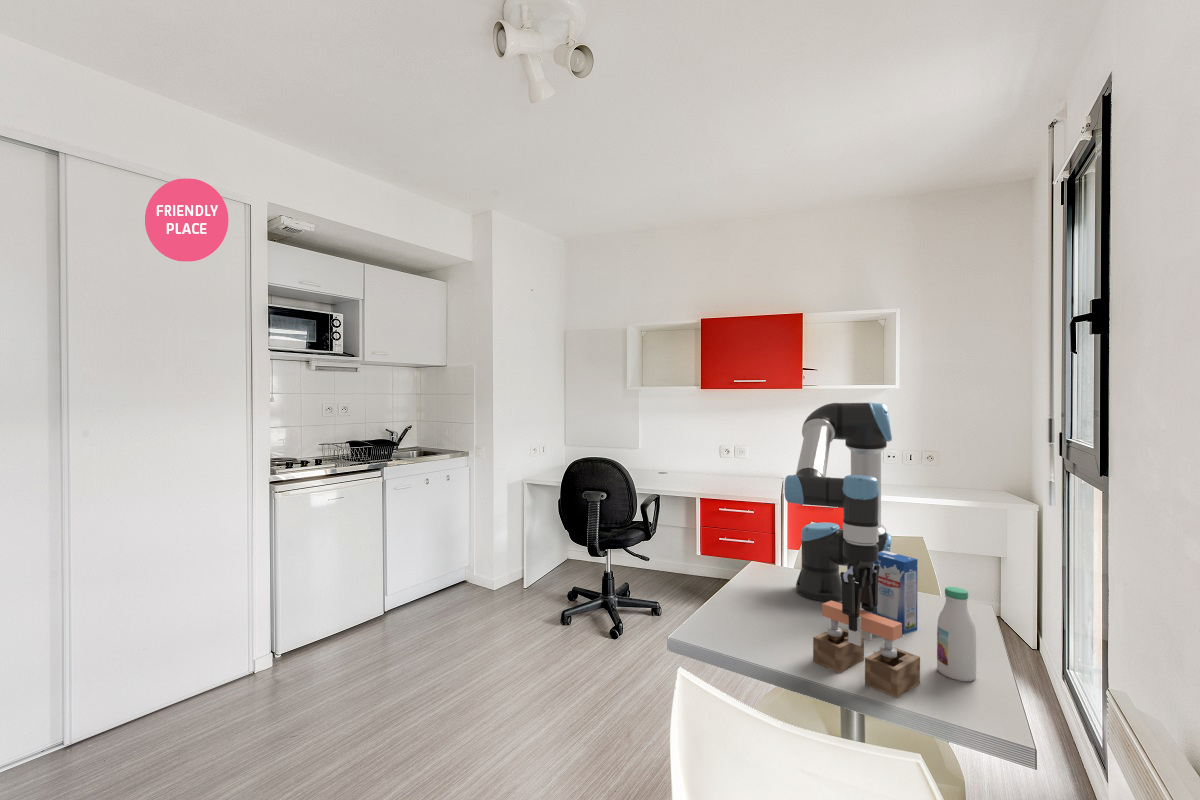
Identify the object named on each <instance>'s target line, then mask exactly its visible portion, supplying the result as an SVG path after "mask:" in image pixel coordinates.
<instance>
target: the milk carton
mask: <svg viewBox="0 0 1200 800" xmlns="http://www.w3.org/2000/svg"><path fill="white" fill-rule="evenodd" d="M918 560H919V559H917V558H914V557H911V556H906V555H903V554H899V553H896V552H892V551H890V552H888V551H880V552H878V560H877V561H875V562H873V564H874V565H878V566H879V567H880V569H879V574H878V605H877V607H874V608H875V609H877V612H876V613H875V612H872V614H875V615H878V616H881V617H884V618H887V619H890V620H893V621H897V622H900V623H902V635H906V634H909V633H912V632H916V631H918Z"/></svg>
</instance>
